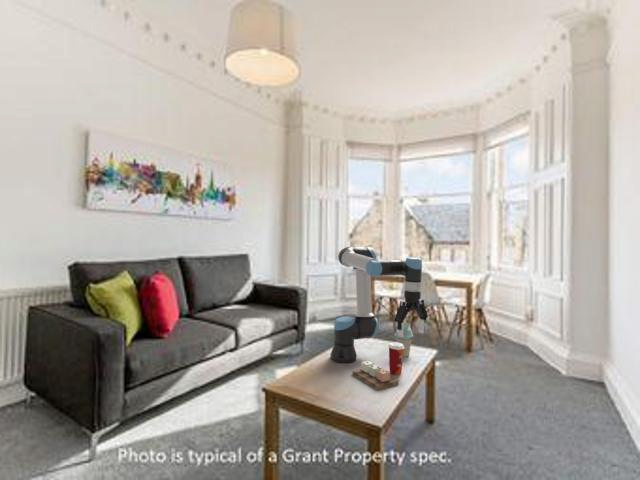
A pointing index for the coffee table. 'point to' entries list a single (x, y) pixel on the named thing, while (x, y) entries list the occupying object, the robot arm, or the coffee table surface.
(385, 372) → the tile three
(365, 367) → the tile one
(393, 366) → the coffee cup
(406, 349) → the ice cream cone
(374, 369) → the tile two
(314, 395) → the coffee table surface
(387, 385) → the tile board
